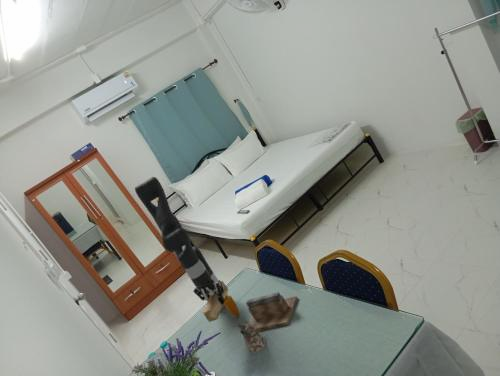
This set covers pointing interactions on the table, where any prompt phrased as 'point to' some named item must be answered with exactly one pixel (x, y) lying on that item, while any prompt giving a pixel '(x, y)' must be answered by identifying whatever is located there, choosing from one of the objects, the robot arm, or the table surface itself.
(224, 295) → the oak batten
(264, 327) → the ridge stand
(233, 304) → the carrot
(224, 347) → the table surface
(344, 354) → the table surface
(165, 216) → the robot arm
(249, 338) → the figurine
